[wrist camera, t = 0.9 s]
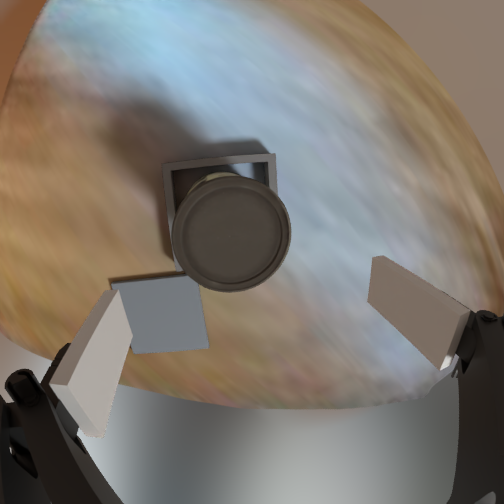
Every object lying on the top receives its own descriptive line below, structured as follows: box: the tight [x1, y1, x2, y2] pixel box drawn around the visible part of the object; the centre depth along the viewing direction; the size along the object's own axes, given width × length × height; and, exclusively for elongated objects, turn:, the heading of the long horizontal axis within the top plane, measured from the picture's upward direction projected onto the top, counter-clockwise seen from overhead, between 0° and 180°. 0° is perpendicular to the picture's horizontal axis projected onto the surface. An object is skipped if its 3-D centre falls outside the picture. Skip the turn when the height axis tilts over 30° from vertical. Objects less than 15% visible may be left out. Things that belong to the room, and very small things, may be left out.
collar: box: [162, 153, 278, 272], centre depth 35 cm, size 14×14×2 cm
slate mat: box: [111, 274, 209, 354], centre depth 39 cm, size 13×13×1 cm
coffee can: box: [171, 172, 291, 292], centre depth 29 cm, size 10×10×14 cm
